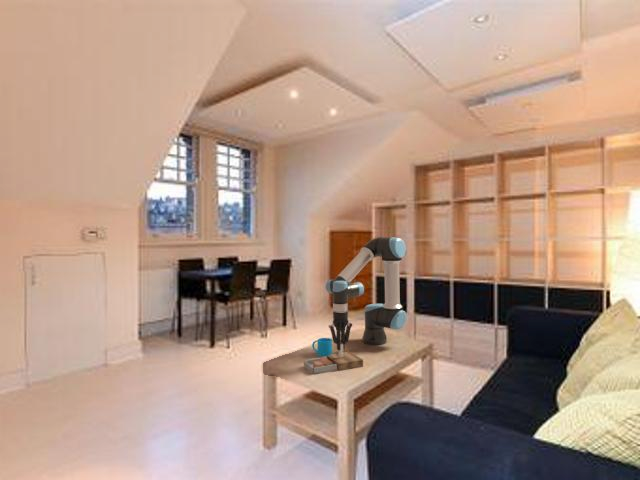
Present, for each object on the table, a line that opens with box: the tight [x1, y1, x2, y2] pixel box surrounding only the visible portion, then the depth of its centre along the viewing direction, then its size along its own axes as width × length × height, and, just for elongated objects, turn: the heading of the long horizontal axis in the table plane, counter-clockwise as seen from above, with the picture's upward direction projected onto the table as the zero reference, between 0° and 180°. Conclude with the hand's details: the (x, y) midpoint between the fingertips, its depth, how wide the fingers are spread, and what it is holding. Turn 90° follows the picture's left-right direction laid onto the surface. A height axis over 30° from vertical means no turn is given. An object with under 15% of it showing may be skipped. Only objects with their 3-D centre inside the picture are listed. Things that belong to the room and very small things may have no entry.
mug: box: [311, 337, 333, 358], centre depth 222 cm, size 12×8×8 cm
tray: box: [303, 357, 338, 375], centre depth 200 cm, size 13×12×3 cm
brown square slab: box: [327, 351, 364, 372], centre depth 206 cm, size 14×14×4 cm
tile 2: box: [320, 356, 333, 365], centre depth 202 cm, size 4×4×2 cm
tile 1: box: [313, 361, 325, 368], centre depth 200 cm, size 4×4×2 cm
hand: (340, 355), depth 205 cm, fingers closed
